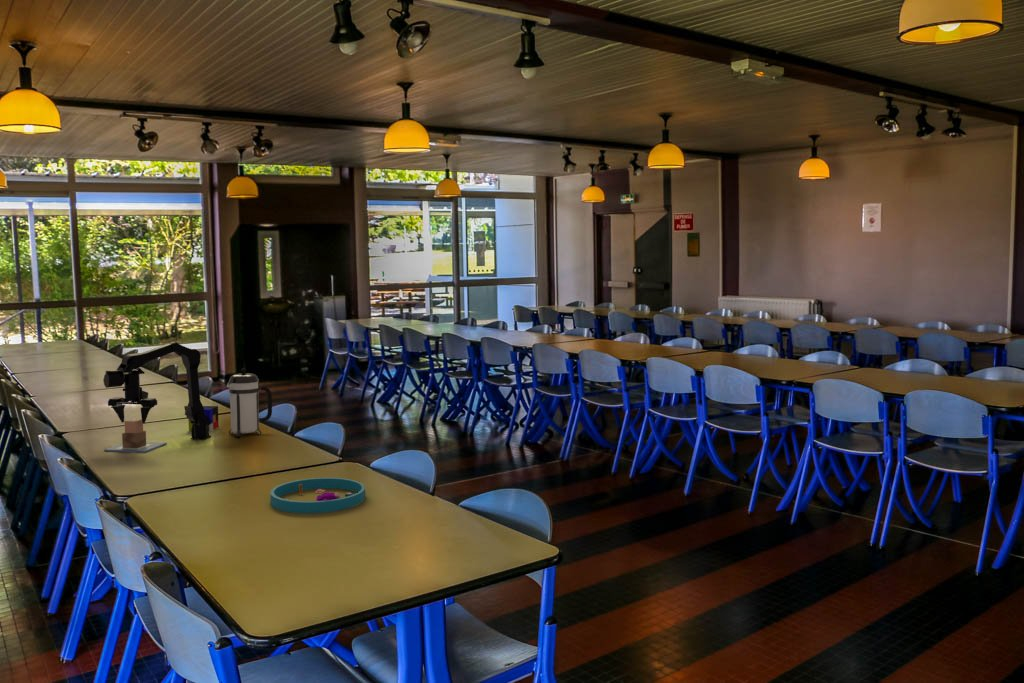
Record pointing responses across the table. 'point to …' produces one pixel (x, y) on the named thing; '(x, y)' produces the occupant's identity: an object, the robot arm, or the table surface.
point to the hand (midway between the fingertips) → (133, 422)
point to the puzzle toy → (210, 417)
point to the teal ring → (323, 501)
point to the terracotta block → (133, 426)
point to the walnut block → (134, 439)
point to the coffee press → (246, 403)
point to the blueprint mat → (143, 449)
